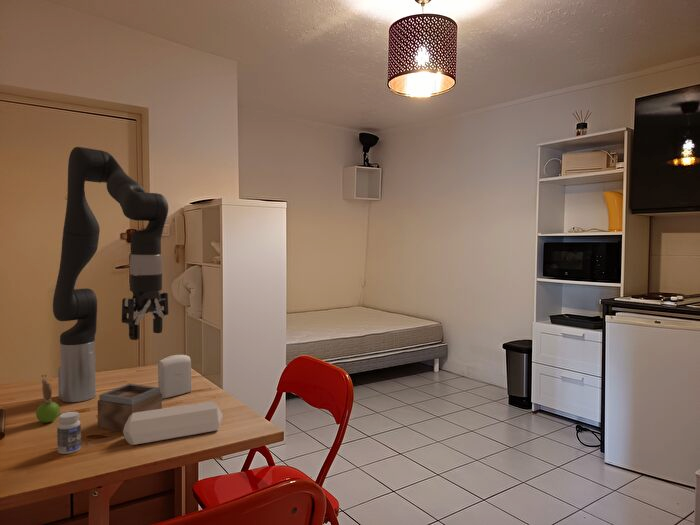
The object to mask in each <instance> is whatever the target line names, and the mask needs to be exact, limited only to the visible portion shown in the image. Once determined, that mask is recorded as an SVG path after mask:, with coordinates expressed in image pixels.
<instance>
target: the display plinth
mask: <svg viewBox="0 0 700 525" xmlns="http://www.w3.org/2000/svg"><path fill="white" fill-rule="evenodd" d="M98 395H99V397H98V398H99V399H98V400H97V428H99V429H100V428H101V429H105V430H106V429H107V430H112V431H116V432H117V431H118V432H122V433H123V430H124V426H125V424H126V422H127V420H128V418H129V417H130V415H131V414H132V413H136V412H143V411H149V410H156V409H163V404H162V403H163V402H162V401H163V399H162V393H160V388H159V387H158V386H150V385H144V384H143V385H142V384H136V383H127V384H124V385H122V386H119V387H117V388H114V389H111V390H108V391H106V392H103V393H100V394H98Z"/></svg>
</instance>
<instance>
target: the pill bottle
mask: <svg viewBox="0 0 700 525" xmlns="http://www.w3.org/2000/svg"><path fill="white" fill-rule="evenodd" d="M79 419H80V413H79V412H78V411H67V412H64V413H61V414H59V416H58V421H59V423H58V424H57V427H56V431H57V432H56V434H57V435H56V436H57V452H58V453H59V454H61V455H67V454H72V453H76V452H78V451H79V450H80V449H81V447H82V434H81V433H82V427H81V426H82V424H81V420H79Z"/></svg>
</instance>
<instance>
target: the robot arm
mask: <svg viewBox="0 0 700 525" xmlns="http://www.w3.org/2000/svg"><path fill="white" fill-rule="evenodd" d="M67 165H68V166H67V190H66V192H67V193H66V194H67V196H66V197H67V198H66V208H65V215H64V216H65V217H64V225H63V228H62V229H63V231H62V240H61V252H60V261H59V268H58V274H57V278H56V284H55V289H54V293H53V298H52V312H53V316H54V317H55V319H56V320H57V321H58V322H69V321H70V322H71V321H76V323H75V324H74V325H73V326H71V327H70V328H69V329H66V330H65V331H63V332H61V334H60V336H59V350H60V351H59V352H60V353H59V354H60V356H59V358H60V362H59V363H60V366H59V367H58V368H57V373H58V374H57V375H58V376H57V380H58V382H57V383H58V384H57V385H58V399H59V400H61V402H64V403H79V402H85V401H88V400H92V399H94V398H95V397H96V395H97V394H96V347H95V346H96V332H97V327H98V326H97V323H98V322H97V321H98V320H97V319H98V299H97V294H96V293H95V291H94V290H92V289H91V288H75V286H76V282H77V280H78V277H79V276H80V274H81V272H83V269H85V267H86V266H87V265H88V264H89V263H90V261H91V260H92V259H93V257H94V256H95V254H96V252H97V250H98V247H99V238H100V231H101V228H100V224H99V222H98V220H97V218H96V216H95V213H94V212H93V210H92V209H91V207H90V205H89V203H88V201H87V197H86V193H85V192H86V191H85V184H86V182H92V183H99V184H101V183H105V184H106V190H107V192H108V194H109V195H110V197H111V198H112V199H114V200H115V201H116V202H117V203H118V204H119V205H120V207H121V210H122V213H123V215H124V217H126V218H128V219H129V220H132V221H139V222H140V221H141V222H143V221H146V222H148V223H147V225H146V227H145V228H142V229H139V230H135V231H133V232H132V233H131V234H130V258H129V291H130V292H131V293H132V297H131V298H130V297H129V298H127V297H126V298H125V297H123V299H122V302H121V303H122V304H121V323H122V324H126V325H128V338H129V340H130V341H131V340H132V341H138V340H139V339H140V324H139V323H140V321H141V319H142V318H143V317H144V316H145V314H148V313H150V314H151V316H152V317H153V319H152V332H153V333H155V334H161V333H162V332H163V319H164V318H165V316H168V315H169V298H168V297H169V295H168V293H167V292H161V291H162V290H163V262H162V236H163V232H164V228H165V224H166V221H167V217H168V214H169V204H168V200H167V198H166V197H165V196H164V195H163V194H162V193H156V192H146V190H145V189H144V187H143V186H142V185H141V184H140V183H138V181H136V180H135V179H134V178H131V177H130V176H129V174H127V173H126V172H125V170H124V169H123V168H122V166H121V165H120V164H119V162H118V161H117V160H116V158H115V157H114V156H113V155H112V154H111V153H109V152H107V151H106V150H105V151H104V150H101V149H96V148H89V147H81V146H75V147H74V148H72V150H71V151H70V153H69V157H68V164H67Z"/></svg>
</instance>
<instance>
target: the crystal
mask: <svg viewBox="0 0 700 525" xmlns="http://www.w3.org/2000/svg"><path fill="white" fill-rule="evenodd" d="M223 414H224V413H222V411H221V409H220V408H219V406H218V404H217V402H216V401H215V400H214V401H213V400H212V401H204V402H199V403H191V404H184V405H179V406H178V405H176V406H171V407H166V408H165V407H162V409H156V410H149V411H143V412H136V413H132V414H131V415H130V417H129V418H128V420H127V422H126V424H125V426H124V430H123V432H122V433H123V435H124V436H123V437H124V439H125V441H126V442H127V444H129V445H131V446H134V445H139V444H146V443H152V442H158V441H163V440H170V439H174V438H180V437H187V436H193V435H197V434H203V433H209V432H214V431H219V429H220V427H221V424H222V421H223V416H224V415H223Z"/></svg>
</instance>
